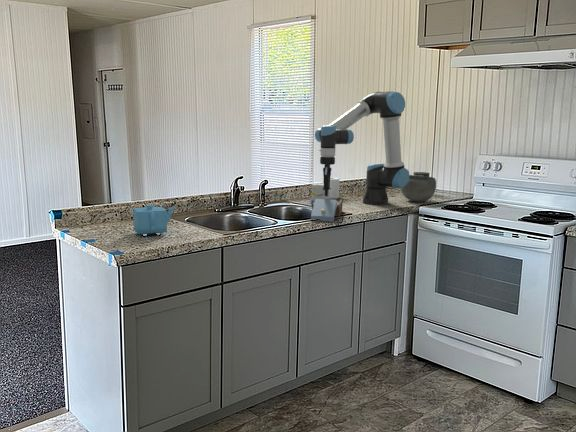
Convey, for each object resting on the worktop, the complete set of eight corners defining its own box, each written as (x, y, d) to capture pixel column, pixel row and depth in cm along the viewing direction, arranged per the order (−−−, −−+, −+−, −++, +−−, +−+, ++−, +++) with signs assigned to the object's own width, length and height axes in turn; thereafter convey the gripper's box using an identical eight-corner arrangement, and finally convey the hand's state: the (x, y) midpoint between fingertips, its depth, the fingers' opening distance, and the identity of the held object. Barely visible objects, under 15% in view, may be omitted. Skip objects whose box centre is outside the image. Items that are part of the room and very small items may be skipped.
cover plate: (336, 204, 290) (336, 198, 288) (333, 221, 277) (333, 214, 275) (315, 203, 292) (315, 197, 290) (311, 220, 279) (310, 213, 277)
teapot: (138, 239, 235) (137, 208, 232) (133, 231, 249) (132, 202, 246) (181, 236, 242) (181, 206, 239) (173, 228, 256) (173, 200, 253)
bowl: (397, 202, 336) (398, 177, 334) (403, 197, 355) (404, 174, 352) (432, 205, 329) (434, 179, 326) (437, 200, 348) (438, 175, 345)
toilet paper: (322, 198, 348) (322, 179, 345) (323, 195, 358) (323, 177, 356) (338, 199, 347) (339, 179, 344) (339, 196, 357) (339, 177, 354)
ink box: (325, 205, 323) (326, 185, 321) (310, 204, 324) (311, 184, 322) (327, 203, 331) (328, 183, 329) (313, 202, 333) (313, 182, 331)
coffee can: (426, 193, 377) (427, 172, 374) (429, 195, 366) (431, 173, 364) (410, 192, 377) (412, 171, 374) (413, 195, 367) (415, 173, 364)
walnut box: (342, 211, 306) (342, 199, 305) (339, 217, 288) (339, 205, 287) (316, 209, 308) (316, 198, 307) (312, 215, 291) (312, 204, 290)
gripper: (321, 155, 294) (320, 199, 298) (318, 157, 281) (317, 203, 285) (336, 155, 292) (334, 200, 297) (333, 157, 280) (332, 204, 284)
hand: (326, 202), depth 291 cm, fingers closed
